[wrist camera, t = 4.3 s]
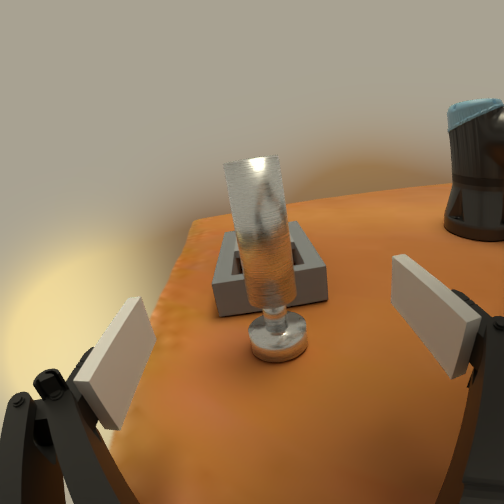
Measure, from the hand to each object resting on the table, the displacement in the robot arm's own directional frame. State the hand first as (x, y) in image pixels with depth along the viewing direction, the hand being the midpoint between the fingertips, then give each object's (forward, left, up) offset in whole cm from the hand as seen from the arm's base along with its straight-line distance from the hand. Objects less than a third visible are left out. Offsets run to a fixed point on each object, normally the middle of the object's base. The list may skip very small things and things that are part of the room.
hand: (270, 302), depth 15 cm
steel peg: (+6, -7, -9) cm, 13 cm away
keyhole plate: (+16, -20, -9) cm, 28 cm away
